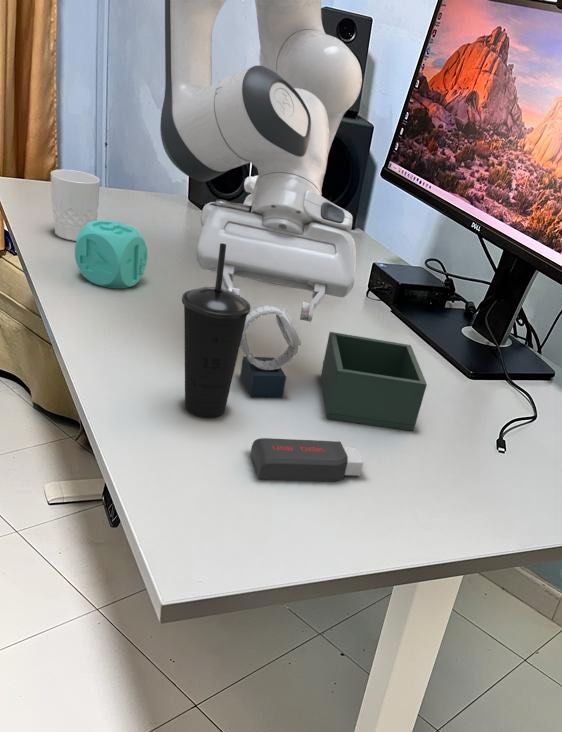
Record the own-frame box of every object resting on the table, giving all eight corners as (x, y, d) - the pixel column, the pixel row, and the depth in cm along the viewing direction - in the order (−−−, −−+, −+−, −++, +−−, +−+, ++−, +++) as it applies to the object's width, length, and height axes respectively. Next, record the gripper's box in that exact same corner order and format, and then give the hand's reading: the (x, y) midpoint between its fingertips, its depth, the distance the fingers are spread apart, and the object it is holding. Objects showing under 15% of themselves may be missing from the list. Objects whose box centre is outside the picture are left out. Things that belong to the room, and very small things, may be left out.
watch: (296, 398, 101) (311, 319, 95) (237, 396, 98) (248, 315, 92) (284, 378, 105) (297, 301, 99) (227, 376, 102) (237, 297, 96)
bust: (244, 227, 170) (219, 182, 161) (272, 208, 170) (248, 162, 162) (264, 246, 161) (239, 199, 153) (293, 226, 162) (270, 178, 154)
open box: (320, 376, 108) (329, 331, 104) (399, 388, 110) (410, 344, 107) (327, 418, 98) (337, 370, 94) (413, 431, 100) (427, 384, 96)
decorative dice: (118, 292, 118) (120, 240, 113) (73, 277, 119) (74, 225, 115) (146, 281, 124) (149, 231, 120) (103, 266, 126) (105, 217, 121)
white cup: (63, 225, 139) (63, 166, 133) (105, 235, 139) (107, 178, 133) (42, 234, 132) (42, 174, 126) (87, 246, 132) (88, 185, 126)
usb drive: (250, 454, 87) (253, 433, 85) (349, 457, 91) (354, 437, 89) (258, 479, 83) (261, 457, 81) (361, 482, 87) (367, 461, 85)
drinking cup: (166, 393, 94) (180, 229, 83) (226, 393, 98) (247, 236, 87) (180, 424, 89) (196, 253, 78) (243, 423, 92) (267, 259, 81)
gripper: (204, 181, 95) (185, 283, 92) (364, 217, 98) (351, 316, 95) (204, 210, 101) (187, 306, 98) (355, 242, 104) (342, 336, 101)
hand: (269, 311), depth 97 cm, fingers open, 8 cm apart
